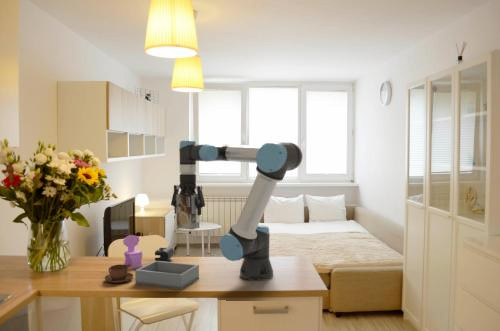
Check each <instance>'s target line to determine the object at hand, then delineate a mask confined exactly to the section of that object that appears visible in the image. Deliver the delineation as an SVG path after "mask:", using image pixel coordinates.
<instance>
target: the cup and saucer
mask: <svg viewBox="0 0 500 331" xmlns="http://www.w3.org/2000/svg"><path fill="white" fill-rule="evenodd" d="M128 267H129V265H124V264H115V265H111V266H110V267H108V273H109V274H106V275H105V276H104V280H105V281H106V282H107V283H112V284H113V283H114V284H120V283H125V282H129V281H130V280H132V279H133V278H134V274H133V273H130V272H128V271H129V270H128V269H129V268H128Z"/></svg>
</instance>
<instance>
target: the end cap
mask: <svg viewBox="0 0 500 331" xmlns="http://www.w3.org/2000/svg"><path fill="white" fill-rule="evenodd" d="M174 255H175V250H174V248H173V247H171V246H167V247H160V248H158V249H157V250H155V252H154V256H159V257H154V261H163V262H169V260H171V259H172V258H173V257H174Z"/></svg>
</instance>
